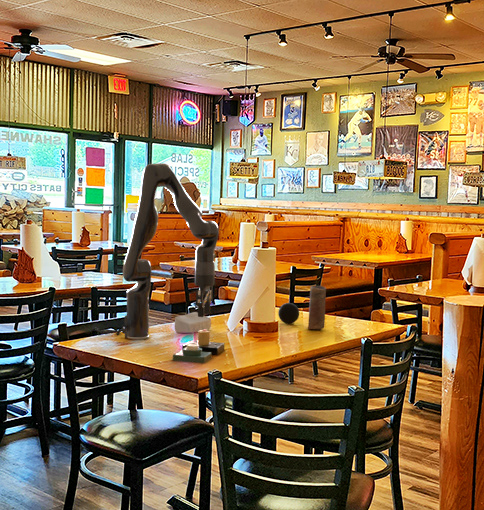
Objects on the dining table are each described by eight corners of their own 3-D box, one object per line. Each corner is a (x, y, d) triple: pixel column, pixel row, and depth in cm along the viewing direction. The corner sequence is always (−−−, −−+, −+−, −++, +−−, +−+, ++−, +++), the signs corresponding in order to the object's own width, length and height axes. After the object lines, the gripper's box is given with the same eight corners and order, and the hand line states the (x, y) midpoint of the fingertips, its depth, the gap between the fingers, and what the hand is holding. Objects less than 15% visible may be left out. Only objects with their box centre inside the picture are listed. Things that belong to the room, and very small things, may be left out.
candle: (323, 328, 325) (325, 285, 323) (325, 331, 317) (327, 287, 316) (307, 327, 325) (308, 285, 323) (308, 330, 318) (310, 287, 316)
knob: (207, 345, 267) (208, 331, 266) (196, 344, 268) (196, 331, 267) (210, 343, 271) (210, 329, 271) (199, 342, 272) (199, 329, 272)
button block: (172, 360, 253) (172, 350, 253) (180, 355, 262) (180, 345, 262) (204, 363, 250) (204, 352, 250) (211, 358, 259) (211, 347, 259)
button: (185, 350, 254) (185, 345, 254) (189, 348, 258) (189, 343, 258) (196, 351, 253) (196, 346, 253) (199, 349, 257) (199, 344, 257)
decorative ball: (303, 323, 335) (303, 303, 335) (289, 326, 329) (289, 305, 328) (287, 321, 343) (288, 300, 342) (273, 323, 336) (274, 302, 335)
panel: (182, 353, 267) (182, 344, 266) (190, 347, 276) (190, 340, 276) (217, 355, 263) (217, 347, 263) (224, 350, 273) (224, 342, 272)
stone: (212, 330, 317) (212, 312, 313) (185, 346, 306) (185, 327, 301) (195, 321, 324) (195, 303, 319) (168, 337, 312) (168, 318, 307)
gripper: (200, 270, 274) (199, 311, 276) (189, 274, 260) (189, 317, 262) (219, 271, 272) (218, 312, 274) (209, 275, 259) (208, 318, 260)
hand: (203, 315), depth 268 cm, fingers open, 8 cm apart
